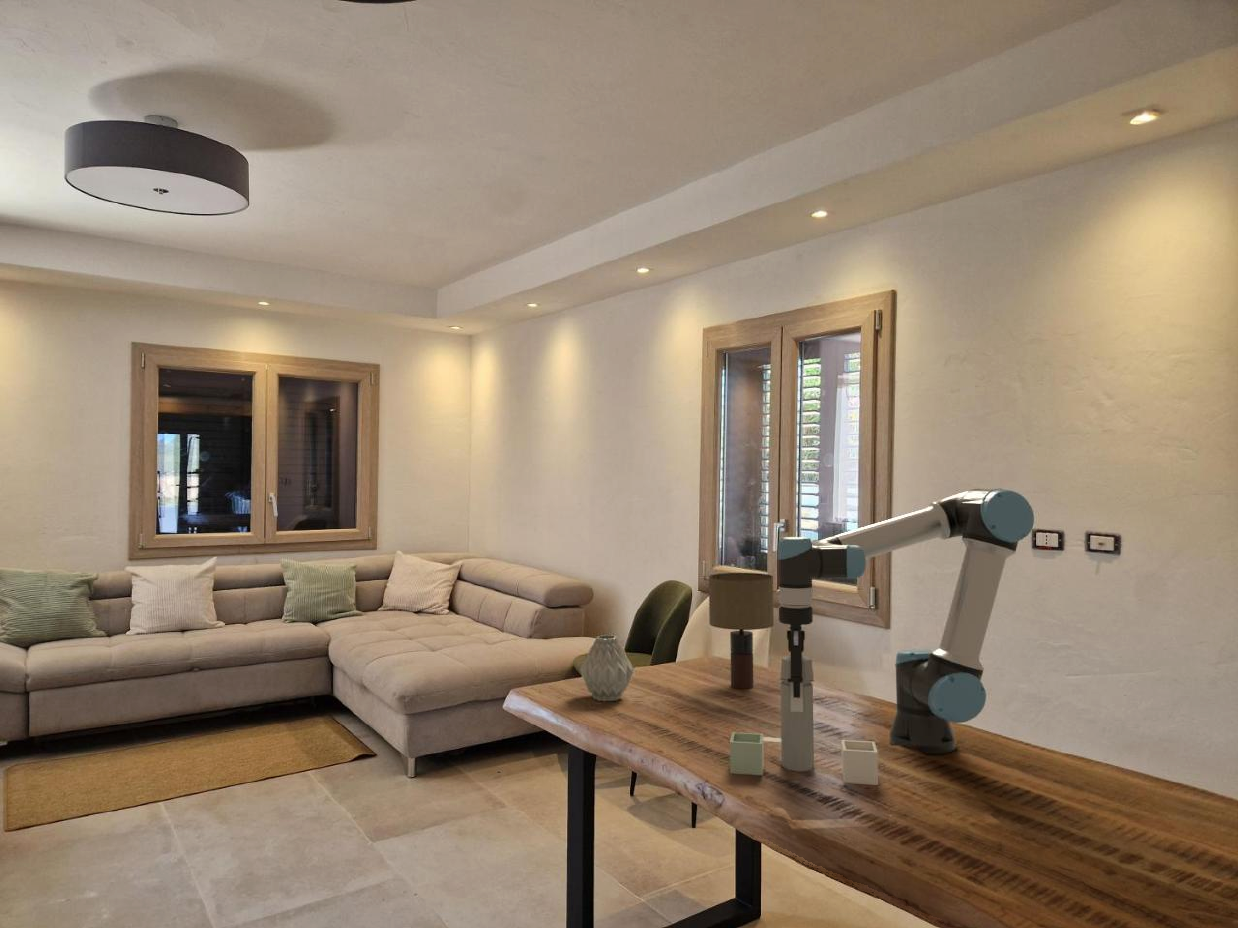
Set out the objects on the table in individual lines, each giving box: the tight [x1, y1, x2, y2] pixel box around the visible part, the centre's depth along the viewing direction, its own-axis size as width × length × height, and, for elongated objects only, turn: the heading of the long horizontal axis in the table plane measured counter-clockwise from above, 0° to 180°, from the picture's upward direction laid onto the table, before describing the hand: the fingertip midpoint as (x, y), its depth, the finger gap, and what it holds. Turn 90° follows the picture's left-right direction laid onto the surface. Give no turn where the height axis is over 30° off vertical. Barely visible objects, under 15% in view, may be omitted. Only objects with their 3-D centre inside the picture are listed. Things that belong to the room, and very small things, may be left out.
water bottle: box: [778, 655, 815, 772], centre depth 182 cm, size 9×8×25 cm
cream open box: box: [840, 739, 879, 786], centre depth 173 cm, size 7×7×8 cm
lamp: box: [708, 572, 775, 690], centre depth 255 cm, size 20×20×35 cm
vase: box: [579, 634, 635, 702], centre depth 243 cm, size 16×16×18 cm
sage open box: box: [729, 731, 765, 776], centre depth 179 cm, size 7×7×8 cm
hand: (796, 705), depth 182 cm, fingers open, 8 cm apart
